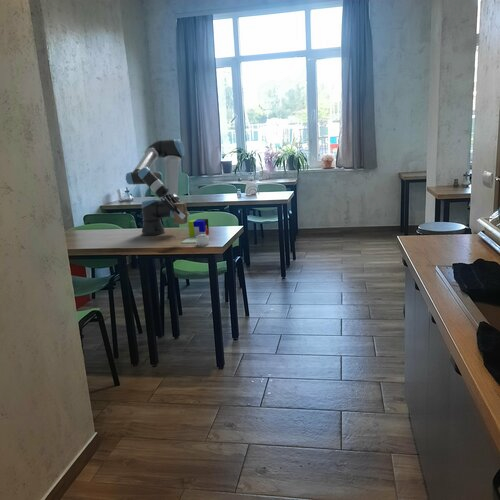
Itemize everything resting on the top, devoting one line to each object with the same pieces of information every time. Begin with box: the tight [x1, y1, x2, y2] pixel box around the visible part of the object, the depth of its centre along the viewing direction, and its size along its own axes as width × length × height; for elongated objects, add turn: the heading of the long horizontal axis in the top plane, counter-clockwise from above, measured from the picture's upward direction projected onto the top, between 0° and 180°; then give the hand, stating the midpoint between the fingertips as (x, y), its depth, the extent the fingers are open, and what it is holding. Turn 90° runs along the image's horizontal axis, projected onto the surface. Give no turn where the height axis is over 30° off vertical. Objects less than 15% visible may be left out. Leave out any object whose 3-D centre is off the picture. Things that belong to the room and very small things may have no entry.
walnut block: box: [173, 202, 188, 225], centre depth 276 cm, size 6×6×12 cm
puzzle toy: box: [187, 218, 210, 237], centre depth 299 cm, size 10×10×10 cm
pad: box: [180, 236, 211, 244], centre depth 284 cm, size 14×14×1 cm
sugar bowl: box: [196, 234, 210, 247], centre depth 271 cm, size 7×7×6 cm
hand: (186, 216), depth 276 cm, fingers closed on walnut block, 6 cm apart
